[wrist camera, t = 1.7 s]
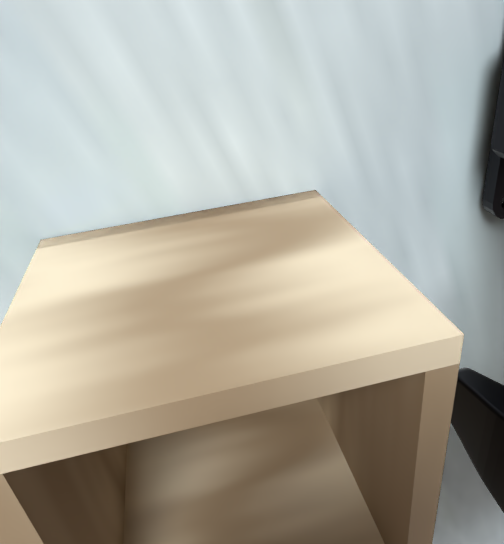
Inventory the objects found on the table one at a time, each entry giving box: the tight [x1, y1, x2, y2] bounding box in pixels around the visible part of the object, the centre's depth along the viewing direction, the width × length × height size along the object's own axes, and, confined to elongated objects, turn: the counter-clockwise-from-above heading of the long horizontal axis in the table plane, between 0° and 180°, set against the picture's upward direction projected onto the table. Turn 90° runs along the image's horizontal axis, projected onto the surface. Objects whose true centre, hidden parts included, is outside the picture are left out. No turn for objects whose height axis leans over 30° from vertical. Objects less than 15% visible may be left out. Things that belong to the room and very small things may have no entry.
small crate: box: [0, 190, 464, 544], centre depth 10 cm, size 6×6×6 cm
